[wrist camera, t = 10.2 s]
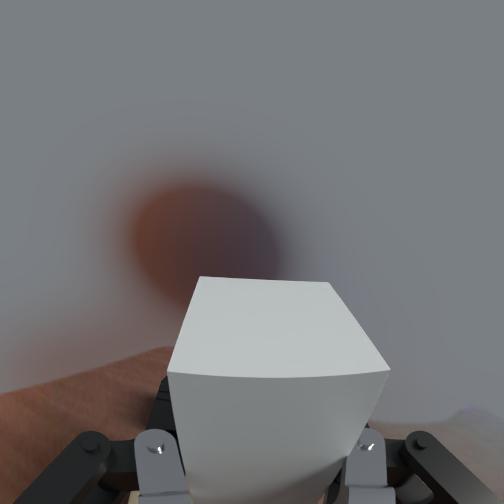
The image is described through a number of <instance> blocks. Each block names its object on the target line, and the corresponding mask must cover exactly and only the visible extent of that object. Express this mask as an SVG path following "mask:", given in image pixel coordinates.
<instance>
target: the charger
mask: <svg viewBox="0 0 504 504" xmlns="http://www.w3.org/2000/svg"><path fill="white" fill-rule="evenodd" d="M390 370H391V369H390V368H389V367H388V365H387V364H386V362H385V361H384V359H383V358H382V356H381V355H380V353H379V352H378V351H377V349H376V348H375V346H374V345H373V344H372V342H371V341H370V339H369V338H368V336H367V335H366V333H365V332H364V331H363V329H362V328H361V327H360V325H359V323H358V322H357V321H356V319H355V318H354V317H353V315H352V314H351V312H350V311H349V310H348V308H347V307H346V305H345V304H344V303H343V301H342V300H341V299H340V297H339V296H338V295H337V293H336V292H335V291H334V289H333V288H332V287H331V285H330V284H329V283H328V282H301V281H277V280H255V279H236V278H218V277H217V278H216V277H201V276H200V278H199V280H198V283H197V286H196V289H195V291H194V294H193V297H192V300H191V302H190V305H189V308H188V311H187V314H186V317H185V319H184V322H183V325H182V328H181V331H180V334H179V337H178V340H177V343H176V346H175V348H174V351H173V354H172V357H171V360H170V364H169V367H168V370H167V375H168V382H169V389H170V396H171V402H172V408H173V414H174V420H175V425H176V431H177V436H178V441H179V446H180V451H181V455H182V460H183V464H184V468H185V473H186V477H187V481H188V485H189V488H190V492H191V496H192V500H193V503H194V504H317V503H318V502H319V500H320V499H321V497H322V496H323V495H324V493H325V490H326V488H327V487H328V485H329V484H331V483H332V482H333V480H334V478H335V477H336V475H337V474H338V472H339V471H340V469H341V468H342V463H343V461H344V460H345V458H346V456H347V455H349V454H350V453H351V451H352V449H353V447H354V446H355V444H356V442H357V440H358V438H359V437H360V435H361V433H362V431H363V429H364V427H365V425H366V423H367V421H368V419H369V417H370V415H371V413H372V411H373V409H374V407H375V405H376V403H377V401H378V398H379V396H380V394H381V392H382V389H383V387H384V384H385V383H386V380H387V378H388V375H389V373H390Z"/></svg>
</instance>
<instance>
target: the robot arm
mask: <svg viewBox="0 0 504 504" xmlns="http://www.w3.org/2000/svg"><path fill="white" fill-rule="evenodd" d="M185 475H186V473H185V468H184V464H183V460H182V455H181V451H180V446H179V441H178V436H177V431H176V425H175V420H174V414H173V408H172V402H171V396H170V389H169V382H168V375H167V376H166V377H165V378H164V379H163V380H162V381H161V384H160V387H159V390H158V393H157V396H156V400H155V403H154V406H153V409H152V412H151V416H150V419H149V422H148V425H147V428H146V430H145V431H143V432H142V433H140V434H139V435H138V436H137V437H136V438H135V439H132V440H126V441H109V439H108V438H107V437H106V436H105V435H103V434H101V433H99V432H95V431H87V432H83V433H81V434H79V435H78V436H77V437H76V438H75V439H74V440H73V441H72V442H71V443H70V444H69V445H68V446H67V447H66V448H65V449H64V450H63V451H62V453H61V454H60V455H59V456H58V457H57V458H56V459H55V460H54V461H53V462H52V463H51V464H50V465H49V466H48V467H47V468H46V469H45V470H44V471H43V472H42V473H41V475H40V476H39V477H38V478H37V479H36V480H35V481H34V482H33V483H32V484H31V485H30V486H29V487H28V488H27V489H26V490H25V491H24V492H23V493H22V494H21V496H20V497H19V498H18V499H17V500H16V501H15V502H14V503H13V504H120V503H121V501H122V500H123V498H124V497H125V496H126V494H127V493H128V491H140V495H139V496H138V504H192V500H191V497H190V494H189V490H188V487H187V483H186V480H185ZM416 475H417V476H418V477H419V478H420V479H421V480H422V481H423V482H424V483H425V484H426V485H427V486H428V488H429V489H430V490H431V491H432V492H433V493H432V492H431V491H430V490H429V489H428V488H427V487H426V485H425V484H424V483H423V482H422V481H421V480H420V479H419V478H418V477H417V476H416ZM323 504H504V502H503V501H502V500H501V499H500V498H499V497H497V496H496V495H495V494H494V493H493V492H492V491H491V490H490V489H489V488H488V487H487V486H486V485H485V484H483V483H482V482H481V481H480V480H479V479H478V478H477V477H476V476H475V475H474V474H473V473H472V472H471V471H470V470H469V469H467V468H466V467H465V466H464V465H463V464H462V463H461V462H460V461H459V460H458V459H457V458H456V457H455V456H454V455H453V454H452V453H451V452H449V451H448V450H447V449H446V448H445V447H444V446H443V445H442V444H441V443H440V442H439V441H438V440H437V439H436V438H435V437H434V436H432V435H431V434H430V433H428V432H425V431H415V432H412V433H411V434H409V435H408V436H407V438H406V439H405V440H395V439H385V438H383V436H382V435H381V434H380V433H379V432H377V431H375V430H373V429H370V428H369V426H368V424H367V423H366V425H365V427H364V429H363V431H362V433H361V435H360V437H359V438H358V440H357V442H356V444H355V446H354V447H353V449H352V451H351V453H350V454H349V455H347V456H346V458H345V460H344V461H343V463H342V468H341V469H340V471H339V472H338V474H337V475H336V477H335V478H334V480H333V482H332V483H331V484H329V485H328V487H327V488H326V490H325V496H324V502H323Z"/></svg>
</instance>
